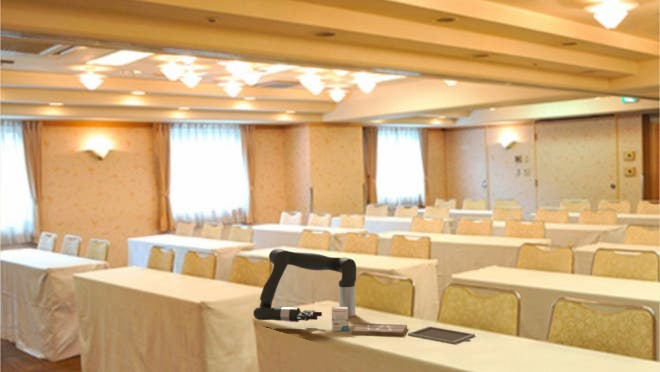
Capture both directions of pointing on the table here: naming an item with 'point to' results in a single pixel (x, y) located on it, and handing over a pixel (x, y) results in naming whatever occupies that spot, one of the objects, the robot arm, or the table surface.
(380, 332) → the walnut board
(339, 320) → the ink box
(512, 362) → the table surface
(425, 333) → the grey framed brown panel
